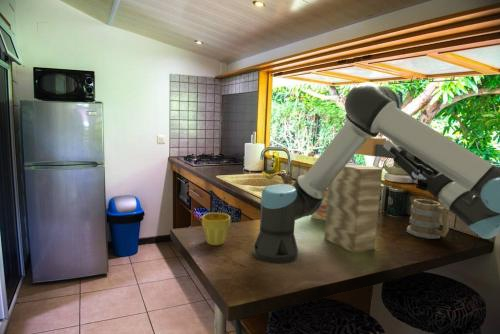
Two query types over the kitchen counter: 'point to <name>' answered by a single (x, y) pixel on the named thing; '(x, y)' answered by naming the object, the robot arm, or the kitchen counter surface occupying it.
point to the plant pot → (215, 227)
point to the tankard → (428, 219)
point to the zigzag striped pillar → (353, 207)
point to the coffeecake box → (322, 208)
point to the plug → (379, 149)
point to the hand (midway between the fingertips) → (390, 143)
